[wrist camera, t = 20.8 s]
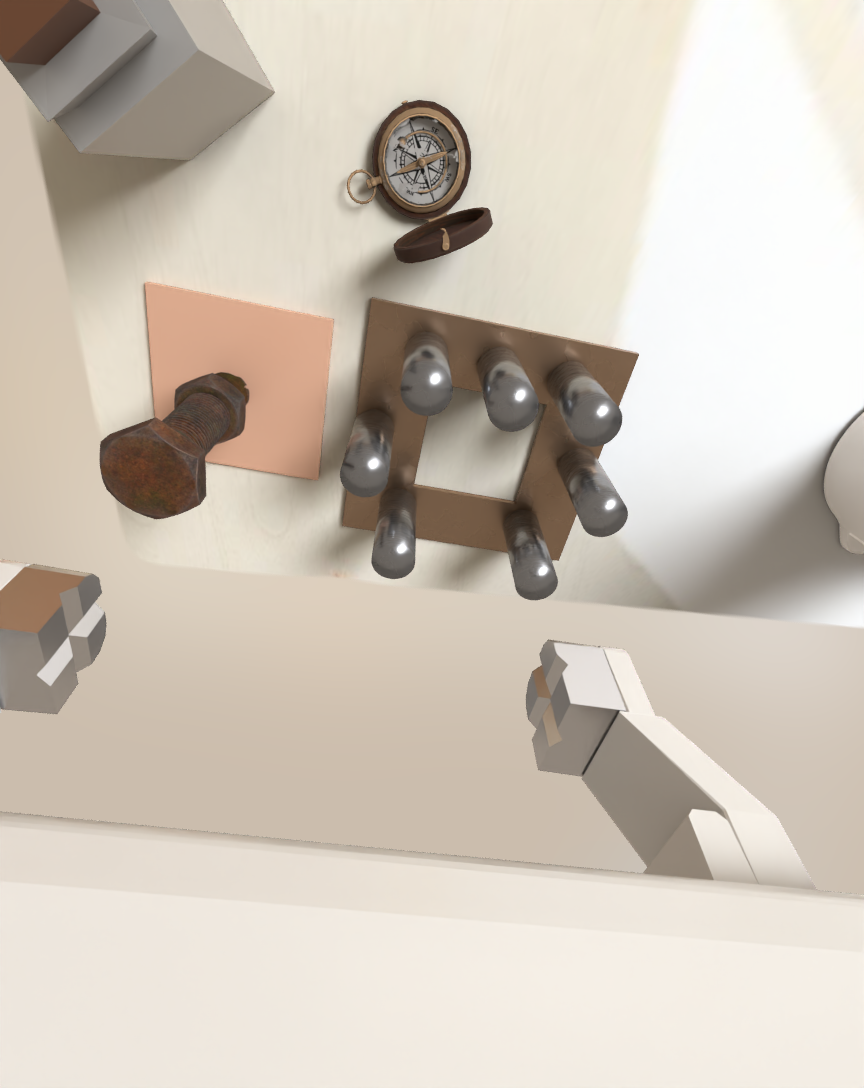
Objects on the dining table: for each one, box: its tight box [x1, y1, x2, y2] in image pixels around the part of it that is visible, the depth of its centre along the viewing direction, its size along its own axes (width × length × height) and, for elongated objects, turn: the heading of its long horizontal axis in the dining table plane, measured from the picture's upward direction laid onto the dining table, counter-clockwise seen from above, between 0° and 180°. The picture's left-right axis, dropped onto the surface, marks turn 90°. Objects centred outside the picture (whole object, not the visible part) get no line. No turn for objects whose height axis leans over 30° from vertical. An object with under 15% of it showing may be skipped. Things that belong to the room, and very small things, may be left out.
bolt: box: [100, 372, 250, 519], centre depth 37 cm, size 6×5×15 cm
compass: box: [347, 100, 493, 263], centre depth 33 cm, size 8×8×7 cm
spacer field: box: [340, 297, 639, 600], centre depth 42 cm, size 20×19×9 cm
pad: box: [145, 282, 334, 480], centre depth 43 cm, size 13×13×1 cm
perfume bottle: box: [0, 0, 275, 160], centre depth 25 cm, size 7×7×18 cm
